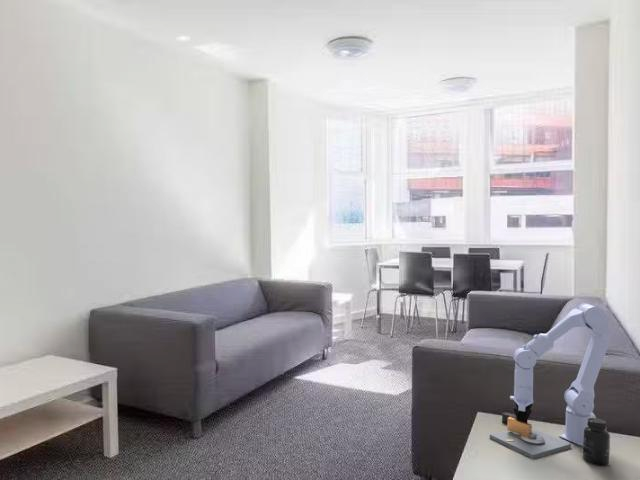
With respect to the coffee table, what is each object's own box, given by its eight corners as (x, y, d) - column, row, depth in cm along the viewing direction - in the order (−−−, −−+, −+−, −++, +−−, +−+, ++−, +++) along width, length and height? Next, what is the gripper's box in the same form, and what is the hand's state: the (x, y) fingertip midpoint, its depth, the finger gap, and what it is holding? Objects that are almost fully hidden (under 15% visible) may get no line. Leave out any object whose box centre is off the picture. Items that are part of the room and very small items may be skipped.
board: (526, 428, 163) (526, 424, 163) (570, 447, 149) (571, 442, 149) (489, 438, 154) (489, 433, 154) (532, 458, 140) (533, 453, 140)
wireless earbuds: (520, 429, 163) (520, 419, 163) (501, 422, 168) (501, 413, 168) (527, 426, 166) (527, 417, 166) (508, 419, 171) (508, 410, 171)
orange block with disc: (549, 440, 150) (549, 427, 150) (537, 446, 145) (537, 431, 145) (514, 428, 159) (514, 415, 159) (502, 432, 155) (502, 419, 155)
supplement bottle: (613, 468, 136) (614, 426, 136) (587, 465, 137) (588, 423, 137) (603, 457, 142) (605, 417, 142) (579, 454, 144) (580, 415, 144)
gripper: (512, 377, 167) (511, 416, 167) (508, 389, 154) (507, 431, 154) (534, 381, 163) (533, 420, 163) (532, 392, 150) (531, 435, 150)
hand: (522, 426), depth 158 cm, fingers open, 5 cm apart
